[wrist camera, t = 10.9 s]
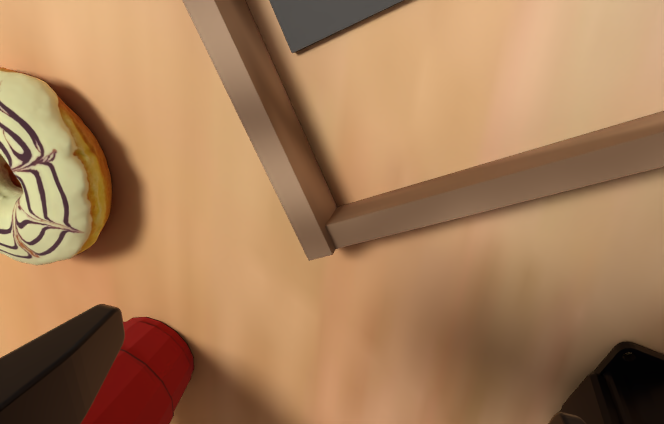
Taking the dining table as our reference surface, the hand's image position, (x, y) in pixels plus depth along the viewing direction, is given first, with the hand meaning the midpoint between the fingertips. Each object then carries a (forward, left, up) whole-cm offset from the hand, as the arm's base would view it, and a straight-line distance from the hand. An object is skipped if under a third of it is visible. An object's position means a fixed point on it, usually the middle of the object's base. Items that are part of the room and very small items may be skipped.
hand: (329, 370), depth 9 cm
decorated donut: (+19, +7, -12) cm, 24 cm away
